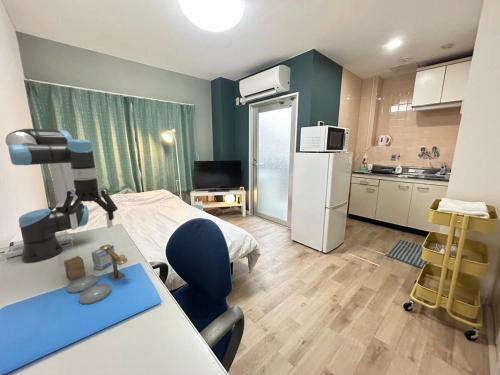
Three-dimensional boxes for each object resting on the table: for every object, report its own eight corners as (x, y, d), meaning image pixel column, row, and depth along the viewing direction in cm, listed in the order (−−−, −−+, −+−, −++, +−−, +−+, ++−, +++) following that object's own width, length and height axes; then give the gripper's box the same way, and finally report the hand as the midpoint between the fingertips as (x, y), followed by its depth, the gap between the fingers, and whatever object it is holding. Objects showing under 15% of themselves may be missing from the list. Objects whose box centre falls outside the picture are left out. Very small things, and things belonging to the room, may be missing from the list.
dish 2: (74, 297, 78) (73, 294, 77) (103, 283, 86) (103, 280, 86) (86, 308, 73) (85, 305, 72) (116, 291, 81) (116, 288, 81)
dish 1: (62, 287, 83) (61, 284, 83) (91, 274, 92) (90, 271, 91) (73, 296, 78) (72, 293, 78) (102, 282, 86) (102, 279, 86)
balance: (102, 273, 93) (98, 247, 90) (111, 268, 96) (108, 243, 94) (122, 285, 84) (118, 258, 82) (131, 280, 88) (128, 253, 85)
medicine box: (102, 270, 95) (99, 253, 93) (93, 269, 96) (91, 252, 94) (116, 261, 102) (113, 245, 101) (108, 260, 103) (106, 244, 101)
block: (66, 277, 89) (63, 261, 88) (80, 271, 94) (77, 255, 92) (71, 281, 87) (68, 264, 85) (85, 275, 91) (82, 258, 89)
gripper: (42, 180, 79) (53, 233, 83) (114, 179, 82) (120, 229, 87) (57, 177, 86) (66, 225, 90) (122, 176, 90) (128, 223, 94)
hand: (92, 227), depth 88 cm, fingers open, 13 cm apart
